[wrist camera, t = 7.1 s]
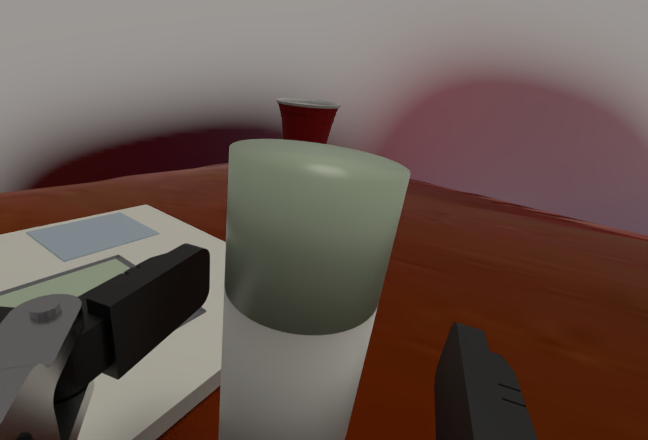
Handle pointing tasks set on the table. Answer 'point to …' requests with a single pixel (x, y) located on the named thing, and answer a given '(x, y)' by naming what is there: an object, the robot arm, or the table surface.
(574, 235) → the table surface
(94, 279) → the picture board
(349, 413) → the marker
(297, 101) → the plastic cup
